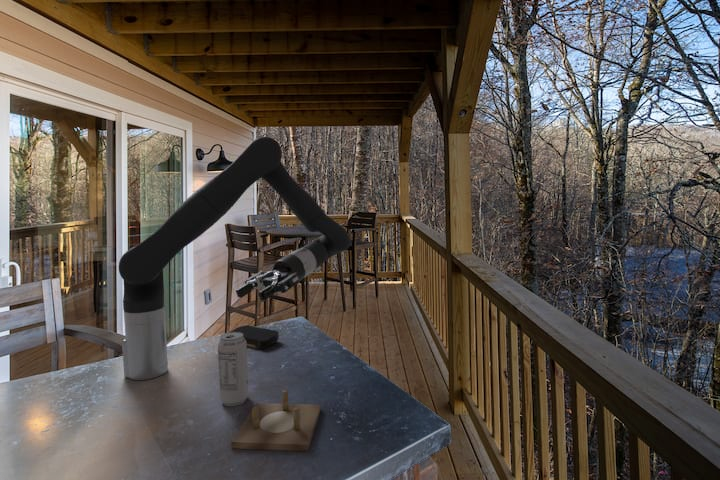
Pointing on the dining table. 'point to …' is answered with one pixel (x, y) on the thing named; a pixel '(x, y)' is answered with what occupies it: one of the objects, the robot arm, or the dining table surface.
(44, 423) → the dining table surface
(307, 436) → the pin base
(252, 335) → the black sponge
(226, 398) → the energy drink can
